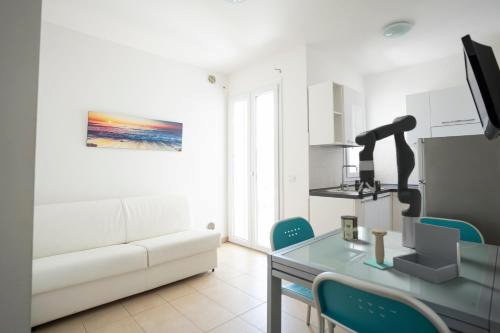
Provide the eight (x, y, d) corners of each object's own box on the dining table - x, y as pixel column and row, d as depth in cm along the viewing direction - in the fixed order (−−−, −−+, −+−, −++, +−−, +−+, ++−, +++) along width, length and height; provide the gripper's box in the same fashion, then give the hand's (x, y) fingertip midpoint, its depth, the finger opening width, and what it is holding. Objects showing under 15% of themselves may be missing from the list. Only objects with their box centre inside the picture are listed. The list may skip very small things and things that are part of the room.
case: (417, 262, 123) (415, 222, 123) (463, 276, 106) (462, 229, 106) (393, 268, 116) (392, 225, 116) (439, 284, 99) (437, 234, 99)
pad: (377, 259, 127) (377, 258, 127) (396, 266, 118) (396, 264, 118) (363, 262, 123) (363, 261, 123) (382, 270, 114) (381, 268, 114)
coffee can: (354, 236, 173) (353, 215, 173) (360, 240, 163) (360, 218, 163) (338, 236, 173) (338, 215, 174) (344, 240, 163) (343, 218, 163)
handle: (372, 260, 124) (371, 229, 125) (387, 262, 121) (386, 230, 122) (372, 263, 120) (371, 231, 120) (387, 266, 117) (387, 232, 117)
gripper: (383, 169, 134) (384, 200, 134) (360, 169, 147) (361, 198, 146) (373, 169, 130) (374, 201, 130) (350, 169, 143) (352, 199, 143)
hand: (367, 199), depth 138 cm, fingers open, 8 cm apart
